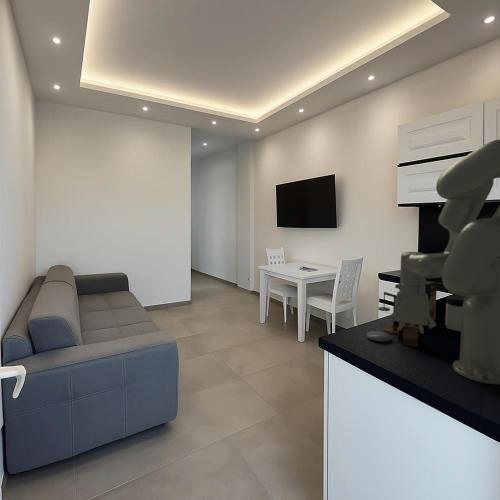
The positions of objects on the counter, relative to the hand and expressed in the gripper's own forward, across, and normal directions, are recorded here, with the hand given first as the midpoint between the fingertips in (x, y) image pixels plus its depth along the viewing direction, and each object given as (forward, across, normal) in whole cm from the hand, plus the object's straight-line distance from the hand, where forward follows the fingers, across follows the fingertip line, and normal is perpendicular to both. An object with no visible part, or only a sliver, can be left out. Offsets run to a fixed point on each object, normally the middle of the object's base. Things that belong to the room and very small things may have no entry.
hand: (410, 341), depth 106 cm
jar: (+1, +14, +26) cm, 30 cm away
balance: (+1, -6, +9) cm, 11 cm away
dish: (+1, -10, -1) cm, 10 cm away
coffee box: (+1, +2, +31) cm, 31 cm away
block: (+1, 0, 0) cm, 1 cm away
